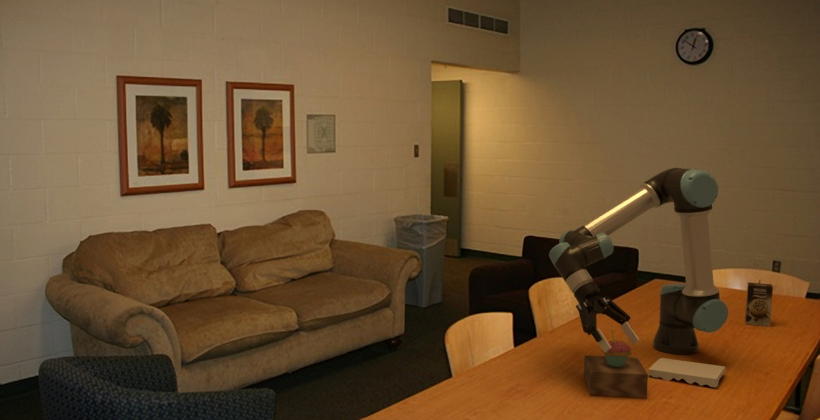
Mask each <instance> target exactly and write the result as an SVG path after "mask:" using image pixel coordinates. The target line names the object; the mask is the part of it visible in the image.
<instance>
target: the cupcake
mask: <svg viewBox="0 0 820 420" xmlns="http://www.w3.org/2000/svg"><path fill="white" fill-rule="evenodd" d="M610 331H611V340H609V341H608V343H609V344H610V346H611V347H612V348H611V349H609V350H608V351H607V352H606V353H604V351H603V350H602V349H601V353H602V354H603V355H604V356H606V360H607V364H608V365H610V366H613V367H622V366H624V364H625V361H626V359H627V357H629V356H631V355H632V351H631V350H632V348H631V346H629V344H627V343H626V342H625V341H622V340H615V330H614V328H613V327H611V329H610Z"/></svg>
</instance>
